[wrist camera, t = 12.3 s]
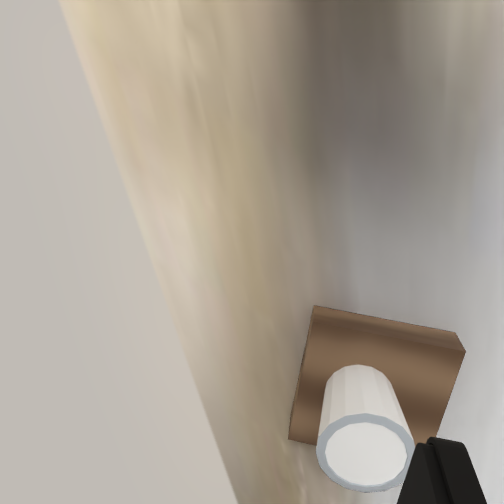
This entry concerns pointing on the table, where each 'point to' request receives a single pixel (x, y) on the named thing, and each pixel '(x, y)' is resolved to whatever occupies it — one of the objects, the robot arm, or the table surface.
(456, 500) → the robot arm
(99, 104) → the table surface
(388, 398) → the white cup
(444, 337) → the walnut plinth
